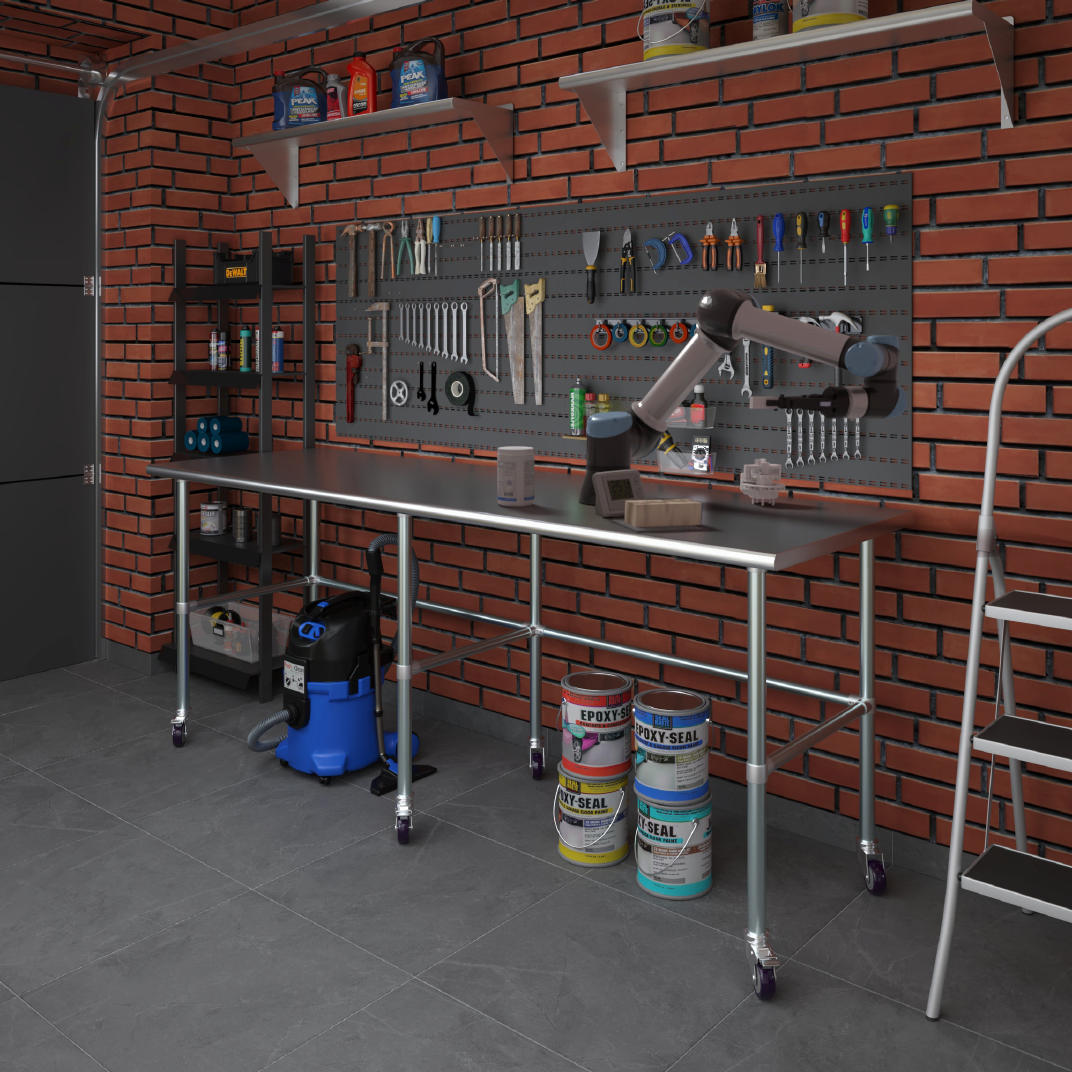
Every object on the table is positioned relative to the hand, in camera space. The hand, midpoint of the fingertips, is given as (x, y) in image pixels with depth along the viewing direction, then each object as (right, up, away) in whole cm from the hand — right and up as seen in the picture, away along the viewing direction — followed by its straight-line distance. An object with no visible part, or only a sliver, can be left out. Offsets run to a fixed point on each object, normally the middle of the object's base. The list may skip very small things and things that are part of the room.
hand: (751, 402), depth 238 cm
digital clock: (-29, -26, +15) cm, 41 cm away
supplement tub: (-55, -23, +29) cm, 66 cm away
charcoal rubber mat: (-22, -28, -2) cm, 36 cm away
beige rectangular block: (-13, -25, +1) cm, 28 cm away
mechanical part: (+11, -22, +37) cm, 45 cm away
